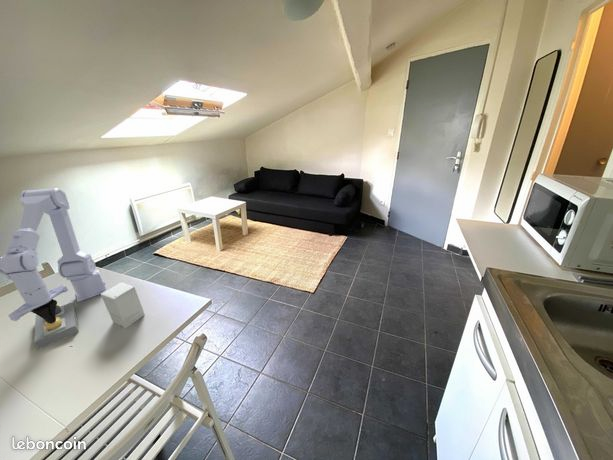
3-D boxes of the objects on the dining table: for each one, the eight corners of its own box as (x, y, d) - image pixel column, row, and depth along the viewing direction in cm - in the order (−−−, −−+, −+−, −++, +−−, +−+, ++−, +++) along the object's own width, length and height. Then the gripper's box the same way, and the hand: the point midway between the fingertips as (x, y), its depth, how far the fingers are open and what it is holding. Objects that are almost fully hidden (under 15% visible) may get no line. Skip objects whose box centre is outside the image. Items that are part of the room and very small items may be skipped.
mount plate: (75, 308, 99) (71, 301, 97) (78, 332, 88) (74, 324, 86) (39, 322, 93) (34, 314, 91) (38, 349, 82) (33, 341, 80)
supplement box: (145, 314, 95) (135, 286, 90) (125, 328, 89) (113, 299, 84) (132, 309, 98) (121, 281, 92) (112, 322, 92) (99, 293, 86)
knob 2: (65, 314, 96) (59, 303, 94) (65, 320, 93) (59, 309, 91) (50, 319, 93) (44, 309, 91) (50, 326, 90) (44, 315, 88)
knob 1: (65, 326, 90) (59, 315, 88) (66, 332, 87) (60, 321, 85) (50, 332, 87) (43, 321, 85) (50, 339, 85) (43, 328, 82)
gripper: (49, 273, 87) (66, 305, 92) (-8, 301, 74) (16, 336, 80) (65, 275, 85) (81, 308, 91) (9, 305, 72) (32, 340, 78)
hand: (51, 321), depth 85 cm, fingers closed, pressing on knob 1
